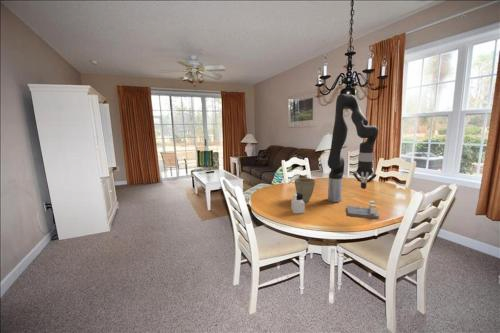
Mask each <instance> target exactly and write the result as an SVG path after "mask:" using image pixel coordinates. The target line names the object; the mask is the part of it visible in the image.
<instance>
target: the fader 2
mask: <svg viewBox="0 0 500 333" xmlns="http://www.w3.org/2000/svg"><path fill="white" fill-rule="evenodd" d="M369 204H370V203H369ZM376 207H377V206H376V204H375V205H374V204H370V214H375V210H376V211H377V208H376Z"/></svg>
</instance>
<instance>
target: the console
mask: <svg viewBox="0 0 500 333" xmlns="http://www.w3.org/2000/svg"><path fill="white" fill-rule="evenodd" d="M346 211H347V216H351V217H359V218H360V217H361V218H367V219H368V218H369V219H376V220H377V219H379V218H380V216H379V213H378V212H377V209H376V210H375V214H370V209H369V207H365V206H364V207H363V206H355V205H354V206H352V205H346Z"/></svg>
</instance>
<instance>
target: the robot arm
mask: <svg viewBox="0 0 500 333" xmlns="http://www.w3.org/2000/svg"><path fill="white" fill-rule="evenodd" d="M345 109H348V110H350V111H351V112H352V113H351V115H350V119H351V121H352V123H353V125H355V126H354V127H355V129H356V135H357V136H358V137H359V138H360V139H366V140H365V141H364V142H360V143H359V153H358V158H357V159H358V160H357V161H358V162H357V169H356V171H355V172H352V175H353V176H354V178H356V180H357V181H358V182H360V188H361V189H363V190H365V189H366V188H367V183H371V182H372V181H373V180H374V179H376V177H377V174H376V173H375V172H374V170H373V161H374V146H375V143H376V140H377V138H378V135H379V128H378V127H377V126H376V125H368V124H369V121H368V119H367V117H366V116H365V115H364V113H363V111H362V110H361V107H360V105H359V103H358V100H357V98H356V96H355V95H353V94H348V93H340V94H339V95H337V97H336V101H335V113H334V114H335V115H334V123H333V129H332V130H333V131H332V137H331V143H330V144H331V145H330V151H329V155H328V159H327V166H328V168H329V169H331V170H330V172H329V173H328V185H327V186H328V188H327V202H332V203H341V202H342V194H343V175H344V173H345V159H344V158H343V156H342V155H341V153H342V149H343V146H344V144H345V142H346V140H347V135H348V132H349V129H348V124H347V122H346V120H345V116H344V110H345ZM358 175H359V176H360V178H359V176H358Z"/></svg>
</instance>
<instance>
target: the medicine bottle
mask: <svg viewBox="0 0 500 333" xmlns="http://www.w3.org/2000/svg"><path fill="white" fill-rule="evenodd" d="M292 195H293V196H292V198H293V199H291V207H290V208H291V211H292V212H293V214H306V212H305V210H306V208H305V206H306V202H304V201H303V195H302V194H301V193H297V192H296V193H293V194H292Z"/></svg>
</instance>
